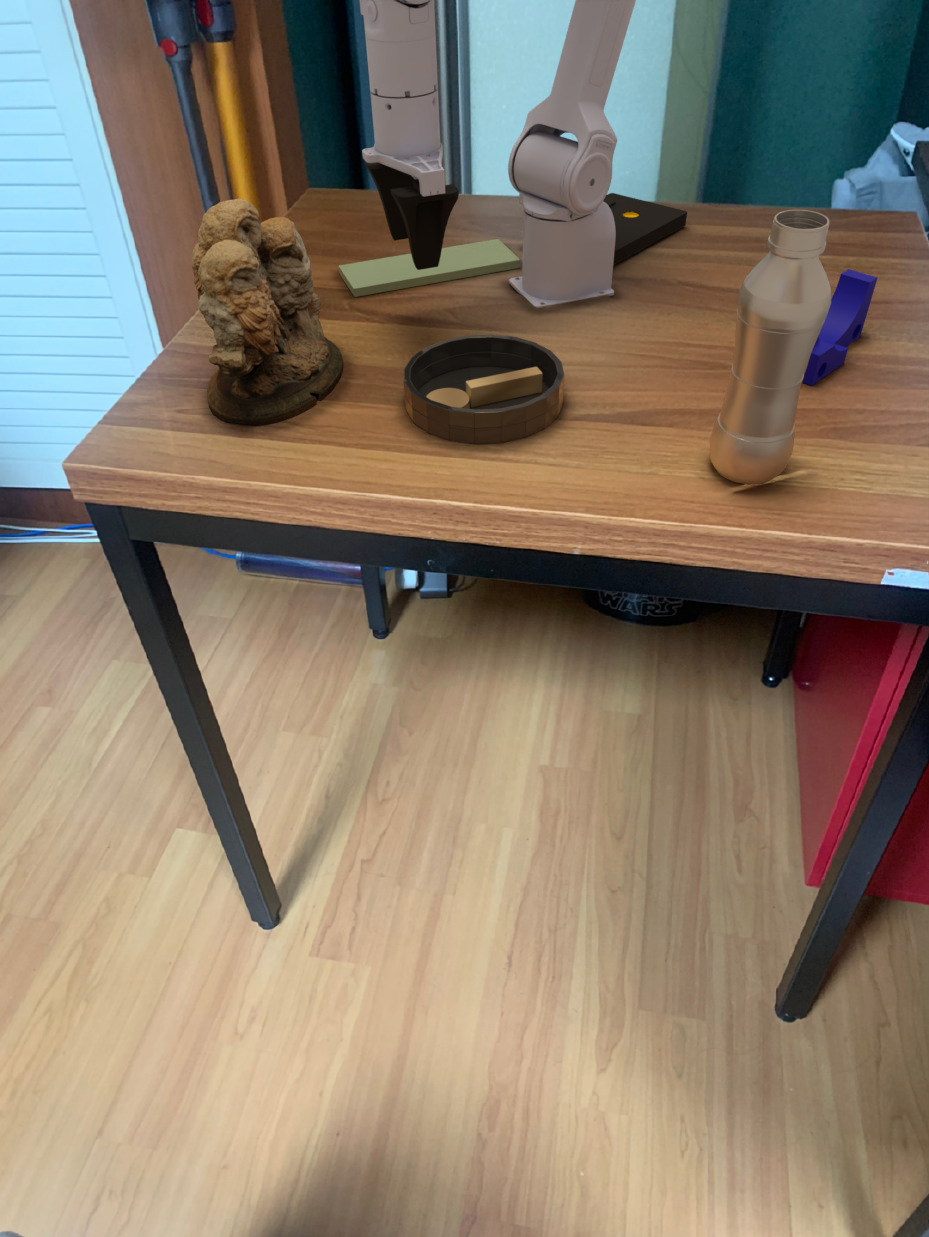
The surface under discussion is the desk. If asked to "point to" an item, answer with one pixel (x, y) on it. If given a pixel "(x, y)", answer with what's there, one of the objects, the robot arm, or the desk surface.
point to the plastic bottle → (772, 350)
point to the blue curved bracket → (840, 324)
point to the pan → (477, 360)
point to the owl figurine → (260, 317)
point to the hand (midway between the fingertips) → (414, 252)
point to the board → (451, 266)
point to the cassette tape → (641, 223)
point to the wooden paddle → (491, 389)
